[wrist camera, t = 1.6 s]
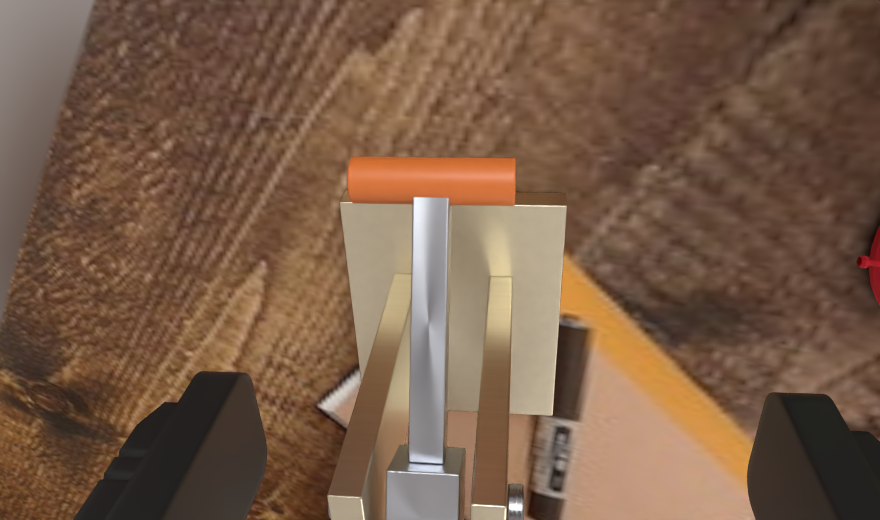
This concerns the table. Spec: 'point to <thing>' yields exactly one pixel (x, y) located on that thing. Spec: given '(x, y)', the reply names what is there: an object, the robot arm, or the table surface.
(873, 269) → the alarm clock
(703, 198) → the table surface
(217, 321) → the table surface
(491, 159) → the lever
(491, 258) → the bracket
